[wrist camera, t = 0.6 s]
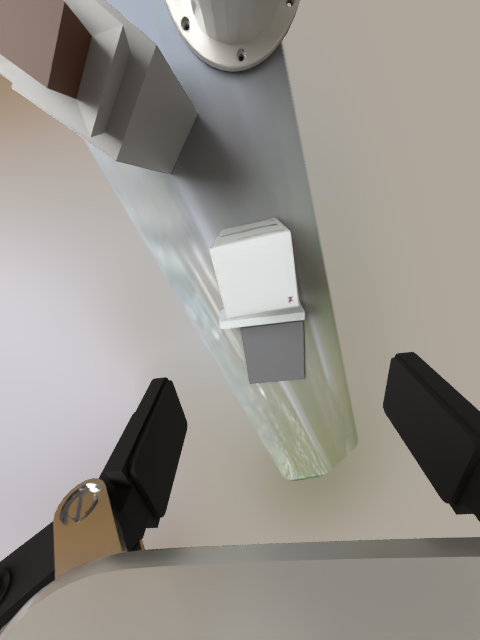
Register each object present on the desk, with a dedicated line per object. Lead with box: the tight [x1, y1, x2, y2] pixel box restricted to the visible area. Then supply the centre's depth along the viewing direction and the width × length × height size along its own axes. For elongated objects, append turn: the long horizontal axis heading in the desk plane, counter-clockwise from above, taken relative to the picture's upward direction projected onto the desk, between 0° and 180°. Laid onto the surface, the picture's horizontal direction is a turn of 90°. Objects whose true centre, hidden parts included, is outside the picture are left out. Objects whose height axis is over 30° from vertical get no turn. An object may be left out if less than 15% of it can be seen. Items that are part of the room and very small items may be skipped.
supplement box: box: [209, 217, 300, 319], centre depth 27 cm, size 7×7×13 cm
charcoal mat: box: [241, 320, 304, 384], centre depth 40 cm, size 12×10×1 cm
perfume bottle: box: [0, 0, 198, 174], centre depth 18 cm, size 7×7×18 cm
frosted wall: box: [219, 301, 305, 329], centre depth 35 cm, size 1×12×4 cm, turn 99°
